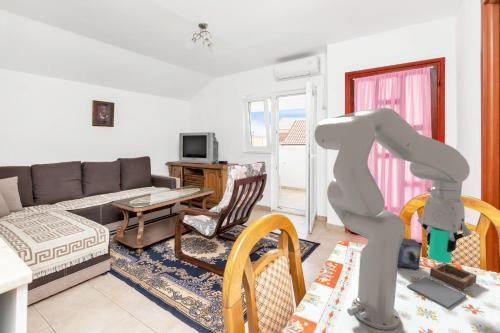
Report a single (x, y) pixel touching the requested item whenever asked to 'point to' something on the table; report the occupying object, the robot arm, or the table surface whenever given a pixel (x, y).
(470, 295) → the table surface
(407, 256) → the small box
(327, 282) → the table surface
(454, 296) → the slate mat
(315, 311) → the table surface
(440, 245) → the candle
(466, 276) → the holder
